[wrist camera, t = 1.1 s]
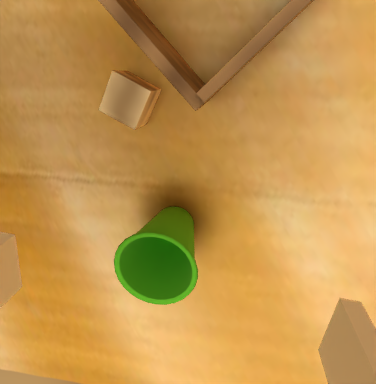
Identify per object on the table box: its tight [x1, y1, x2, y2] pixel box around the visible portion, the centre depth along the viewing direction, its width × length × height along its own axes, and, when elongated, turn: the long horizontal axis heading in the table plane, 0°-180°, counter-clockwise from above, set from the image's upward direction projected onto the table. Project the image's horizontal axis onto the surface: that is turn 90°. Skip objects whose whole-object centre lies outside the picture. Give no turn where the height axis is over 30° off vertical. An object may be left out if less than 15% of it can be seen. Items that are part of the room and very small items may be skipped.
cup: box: [114, 207, 198, 305], centre depth 35 cm, size 9×9×11 cm
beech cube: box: [99, 70, 161, 130], centre depth 33 cm, size 4×4×4 cm
